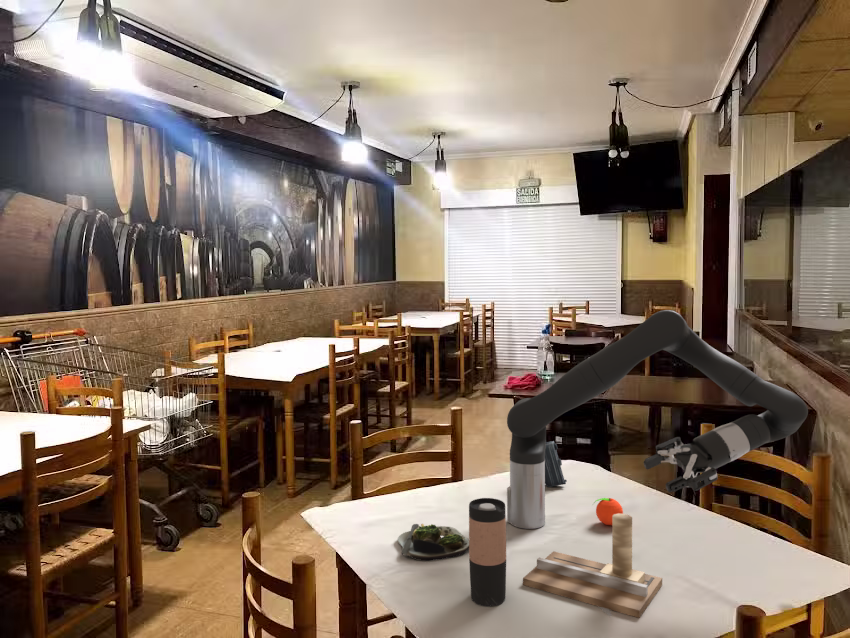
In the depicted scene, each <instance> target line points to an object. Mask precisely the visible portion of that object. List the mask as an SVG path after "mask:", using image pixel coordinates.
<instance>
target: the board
mask: <svg viewBox="0 0 850 638" xmlns="http://www.w3.org/2000/svg"><path fill="white" fill-rule="evenodd" d="M606 565H607V563H602V562H599V561H595V560H591V559H586V558H582V557H578V556H573V555H569V554H566V553H562V552H559V551H554V550H553V551H552V552H551V553H550V554H548V556H546V557H545V558H544V557H543V558H541V557H538V558H536V566H534V568H533V569H531V570H530V571H529V572H528V573H527V574H526V575H525V576H523V578H522V585H523V586H526V587H530V588H532V589H536V590H540V591H542V592H543V591H544V592H547V593H551V594H553V595H558V596H561V597H565V598H568V599H572V600H575V601H578V602H582V603H586V604H589V605H593V606H595V607H598V606H599V607H604V608H607V609H610V611H612V612H616V613H617V612H618V613H621V614H624V615H628V616H631V617H635V618H638V619H640V618H641V617H642V615H643V613H645V610H647V608H648V606H649V605H650V604H651V602H652V600H653V599H654V597H655V596H656V595H657V593H658V592H659V590H660V589H661V588H662V586H663V577H659V576H656V575H651V574H647V573H645V582H644V583H643V584H641V583H637V582H633V581H629V580H625V579H621V578H618V577H614V576H610V575H606V574H602V573H600V571H601V570H602V569H603V568H604V567H605V566H606ZM599 607H598V608H599Z"/></svg>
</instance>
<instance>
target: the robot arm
mask: <svg viewBox="0 0 850 638" xmlns="http://www.w3.org/2000/svg"><path fill="white" fill-rule="evenodd" d="M660 351H666V352H668V353H670V354H672V355H674V356H675V357H678V358H679V359H681V360H683V361H685V362H686V363H688V364H690V365H691V366H693V367H694V368H695V369H697V370H699V371H700V372H701V373H702V374H703V375H705V376H706V377H707V378H709V379H710V380H711V381H713V383H715V384H716V385H717V386H718V387H720V388H721V389H722V390H724V391H725V392H726V393H728V394H729V395H731V397H733V398H735V399H736V400H737V401H739V402H740V403H741V404H743V405H745V406H747V407H753V406H756V405H758V406H760V407H762V408H764V409H766V411H764V412H762V413H760V414H758V415H757V414H753V413H752V414H751V413H750V414H747V415H744V416H741V417H740V418H737V419H735V420H734V421H731V422H729V423H726V424H722V425H720V426H717V427H715V428H713V429H712V430H709V431H707V432H705V433H703V434H701V435H698V436H697V437H694V438H693V439H692V441H691V442H690V443H687V444H686V443H685V444H684V443H683V442H682V440H681V437H680V436H676V437H674V438H671V439H669V440H667V441H664V442H661V443H659V444H656V445H655V449H656V450H655V451H656V452H655V454H653V455H651V456H649V457H647V458H645V459H644V461H643V466H644V468H645V469H646V470H651V468H654V467H657V466H659V465H661V464H662V463H670V464H671V465H677V466H678V467H679V468H681V469H682V470H683V472H684V474H683V476H681V475H680V476H678V477H676V478H674V479H672V480H669V481H667V482H666V483H665V490H666V491H667V492H668V493H673V492H677V491H679V490H682V489H683V488H691V489H692V490H693V491H694V492H697V491H699V490H701V489H703V488H705V487H706V486H709V485H710V484H712V483H714V482H716V481H717V480H718V479H719V478H718V473H717V472H718V471H717V469H718V468H720V467H723V466H725V465H727V464H728V463H731V462H734V461H735V460H737V459H740V458H741V457H743V456H744V455H745V454H747V453H749V452H751V451H753V450H755V449H758V448H760V447H761V446H763V445H765V444H768V443H772V442H776V441H779V440H782V439H785V438H788V437H790V436H791V435H793V434H794V433H796V432H797V431H798V430H799V428H800V427H801V426H802V424H803V423H804V422H805V420H806V419H807V417H808V415H809V409H808V406H807V404H806V402H805V401H804V400H803V398H801V397H800V396H799V395H798V394H796V393H795V392H793V391H790V390H789V389H787V388H784V387H781V386H778V385H777V384H774V383H772V382H769V381H767V380H764V379H763V378H762V377H760V376H759V375H757V374H756V373H755V372H753V371H751V369H749V368H747V367H746V366H744V365H743V364H741V363H740V362H738V361H737V360H735V359H733V358H732V357H729V356H727V355H726V354H724V353H722V352H720V351H719V350H717V349H715V348H714V347H713V346H711V345H709V343H707V342H706V341H704V340H703V338H701V337H700V336H699V335H698V334H697V333H696V332H695V331H694V330H693V329H691V327H689V324H688V323H687V321H686V319H684V317H683V316H682V315H681V314H680V313H679V312H676V310H672V309H671V310H670V309H665V310H660V311H657V312H654V313H653V314H652V315H651V316H649V317H647V318H646V319H645V320H644V321H642V323H640V324H639V325H637V327H635V328H634V329H633V330H632V331H630V332H629V333H628V334H626V335H624V336H623V337H621V338H620V339H619V340H618V339H617V341H615V342H613V343H611V344H610V345H607V346H606V347H604V348H603V349H601V350H599V351H598V352H596V353H594V354H592V355H591V356H589V357H588V358H586V359H584V360H582V361H581V362H580V363H578V364H577V365H575V366H574V367H572V368H571V369H570V370H568V371H567V372H566V373H565V374H564V375H562V376H561V377H560V378H559V379H558V380H557V381H555V382H554V383H553V384H552V385H551V386H550V387H548V388H547V389H546V390H544V391H542V392H541V393H539V394H537V395H535V396H533V397H526V398H522V399H520V400H518V401H517V402H516V403H515V404H514V405H513V406H511V408H510V410H509V411H508V413H507V416H506V417H507V419H506V425H507V428H508V430H509V432H510V433H511V442H510V448H509V486H508V487H507V488H506V509H507V510H506V512H507V513H506V517H507V518H506V519H507V520H506V521H507V522H506V523H509V524H511V525H512V526H514V527H517V528H520V529H527V530H530V529H531V530H532V529H533V530H534V529H540V528H541V527H544V526H545V524H546V484H545V449H546V442H547V426H548V425H549V424H551V423H552V422H553V421H554V420H556V419H557V418H559V417H561V416H562V415H563V414H565V413H567V412H569V411H571V410H573V409H575V408H577V407H579V406H581V405H583V404H585V403H587V402H589V401H591V400H592V399H594V398H596V397H598V396H600V395H601V394H603V393H604V392H606V391H608V390H609V389H611V388H613V387H614V386H616V384H618V383H619V382H620V381H621V380H622V379H624V378H625V377H626V376H627V375H628V374H629V373H630V372H631V370H632V369H634V367H636V366H637V365H638V364H639V363H641V362H642V361H644V360H645V359H648V358H649V357H651V356H653V355H654V354H656V353H658V352H660ZM674 455H675V456H674Z"/></svg>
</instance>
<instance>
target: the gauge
mask: <svg viewBox="0 0 850 638" xmlns="http://www.w3.org/2000/svg"><path fill="white" fill-rule="evenodd" d="M611 526H612V535H611V536H612V550H611V551H612V553H611V557H612V558H611V559H612V560H611V561H612V562H611V563H606V564H607V565H606V566H605V567H604V568H603V569H602V570H601V571H600V573H602V574H606V575H610V576H614V577H618V578H621V579H625V580H629V581H633V582H637V583H641V584H643V583H644V582H645V574H646V572H644V571H641V570H637V569H633V516H631V515H630V514H627V513H623V514H614V515H613V516H612V525H611Z"/></svg>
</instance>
